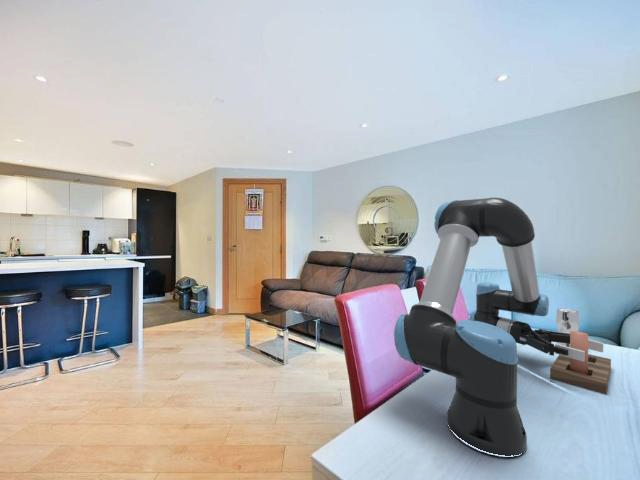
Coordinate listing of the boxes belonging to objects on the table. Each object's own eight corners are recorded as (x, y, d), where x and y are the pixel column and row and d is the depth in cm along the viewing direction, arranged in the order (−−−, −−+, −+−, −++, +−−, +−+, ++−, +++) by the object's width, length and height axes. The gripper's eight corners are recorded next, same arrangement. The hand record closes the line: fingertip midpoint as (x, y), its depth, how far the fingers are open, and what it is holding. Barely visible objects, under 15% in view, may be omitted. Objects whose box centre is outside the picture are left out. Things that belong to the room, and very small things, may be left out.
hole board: (606, 398, 77) (606, 383, 77) (550, 381, 86) (550, 368, 86) (610, 371, 93) (610, 359, 93) (563, 359, 102) (563, 348, 102)
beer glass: (555, 343, 118) (555, 307, 118) (577, 347, 114) (577, 310, 114) (556, 348, 112) (557, 310, 112) (580, 352, 108) (580, 313, 108)
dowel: (580, 383, 83) (580, 335, 83) (566, 377, 87) (566, 331, 87) (591, 382, 83) (591, 335, 83) (577, 376, 87) (577, 330, 87)
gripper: (532, 336, 107) (609, 356, 88) (494, 347, 95) (575, 374, 76) (532, 316, 107) (609, 332, 88) (494, 325, 95) (575, 346, 76)
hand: (594, 352), depth 82 cm, fingers open, 13 cm apart
